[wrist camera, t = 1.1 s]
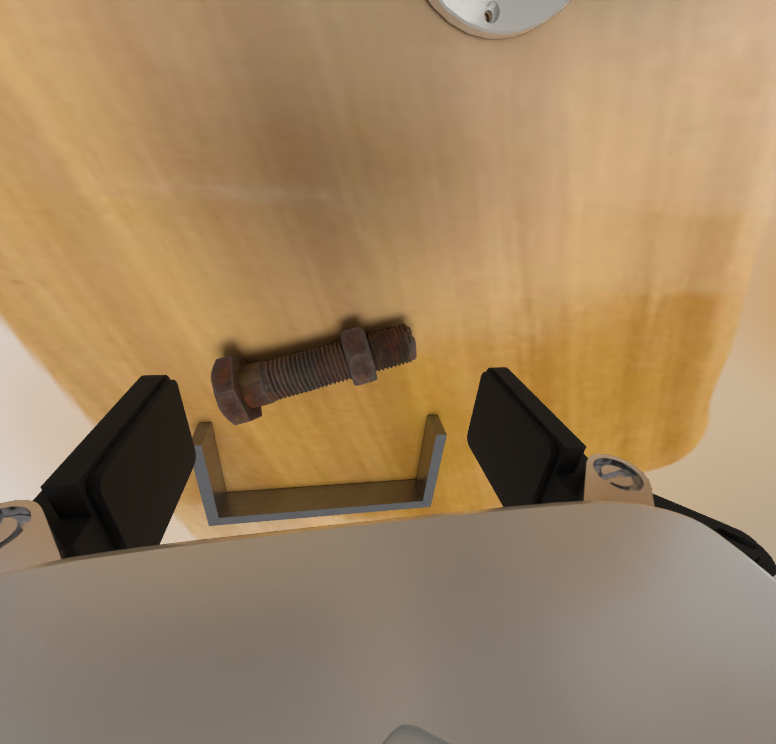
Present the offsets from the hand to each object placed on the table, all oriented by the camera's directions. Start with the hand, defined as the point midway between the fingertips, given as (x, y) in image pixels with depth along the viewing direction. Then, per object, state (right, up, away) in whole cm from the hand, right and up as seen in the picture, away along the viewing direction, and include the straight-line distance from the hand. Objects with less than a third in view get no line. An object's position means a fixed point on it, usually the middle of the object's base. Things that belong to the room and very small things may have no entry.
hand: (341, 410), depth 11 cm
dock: (-5, -8, +24) cm, 25 cm away
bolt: (-4, +3, +18) cm, 19 cm away
